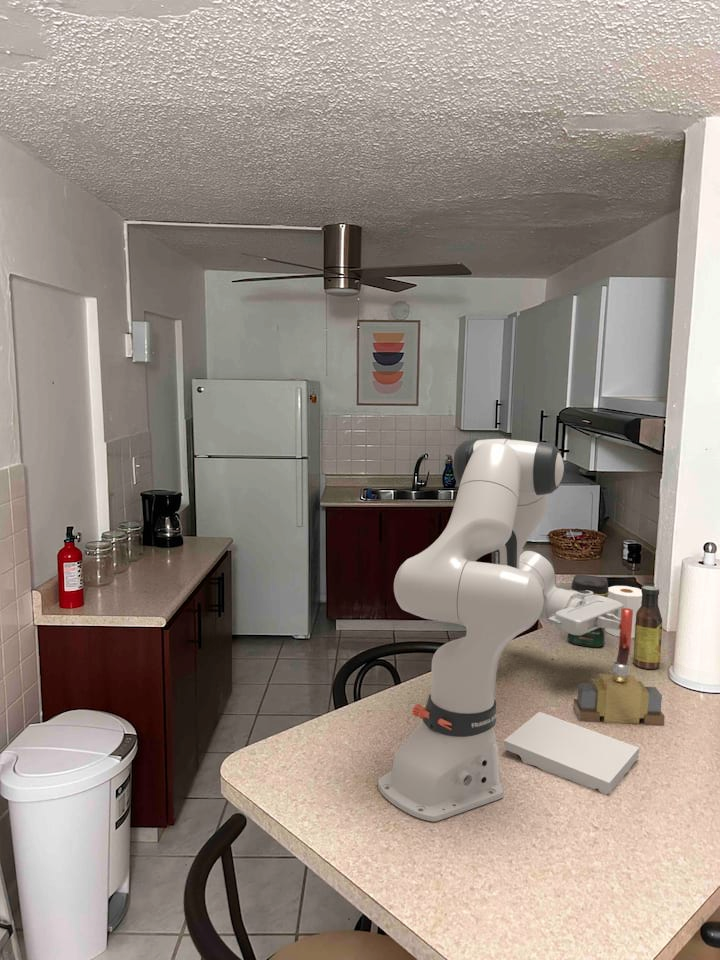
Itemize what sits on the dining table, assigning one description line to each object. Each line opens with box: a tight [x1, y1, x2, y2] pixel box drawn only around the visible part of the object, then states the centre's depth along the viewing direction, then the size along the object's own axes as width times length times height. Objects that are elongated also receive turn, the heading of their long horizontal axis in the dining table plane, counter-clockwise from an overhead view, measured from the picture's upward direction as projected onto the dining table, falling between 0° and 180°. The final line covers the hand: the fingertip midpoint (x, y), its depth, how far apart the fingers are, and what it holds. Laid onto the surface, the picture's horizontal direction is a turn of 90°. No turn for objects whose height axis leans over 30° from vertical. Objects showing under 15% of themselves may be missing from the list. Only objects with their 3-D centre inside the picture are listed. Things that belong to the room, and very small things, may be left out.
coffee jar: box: [567, 573, 609, 648], centre depth 190 cm, size 10×8×19 cm
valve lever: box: [612, 608, 633, 682], centre depth 152 cm, size 14×3×12 cm, turn 156°
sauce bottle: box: [632, 585, 663, 670], centre depth 175 cm, size 6×6×20 cm
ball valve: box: [572, 673, 666, 726], centre depth 148 cm, size 6×17×8 cm, turn 85°
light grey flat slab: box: [502, 711, 640, 796], centre depth 132 cm, size 15×3×20 cm
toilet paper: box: [605, 585, 642, 639], centre depth 199 cm, size 10×10×12 cm
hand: (622, 625), depth 158 cm, fingers closed
